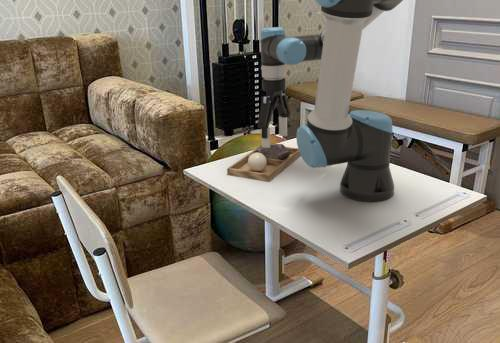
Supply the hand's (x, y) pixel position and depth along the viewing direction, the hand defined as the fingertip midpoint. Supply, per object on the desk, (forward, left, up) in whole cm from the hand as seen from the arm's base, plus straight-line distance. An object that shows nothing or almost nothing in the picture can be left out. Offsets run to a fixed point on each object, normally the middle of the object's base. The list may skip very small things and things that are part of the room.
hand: (274, 141), depth 166 cm
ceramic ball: (0, +13, -6) cm, 14 cm away
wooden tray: (0, +6, -7) cm, 9 cm away
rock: (0, 0, -6) cm, 6 cm away
